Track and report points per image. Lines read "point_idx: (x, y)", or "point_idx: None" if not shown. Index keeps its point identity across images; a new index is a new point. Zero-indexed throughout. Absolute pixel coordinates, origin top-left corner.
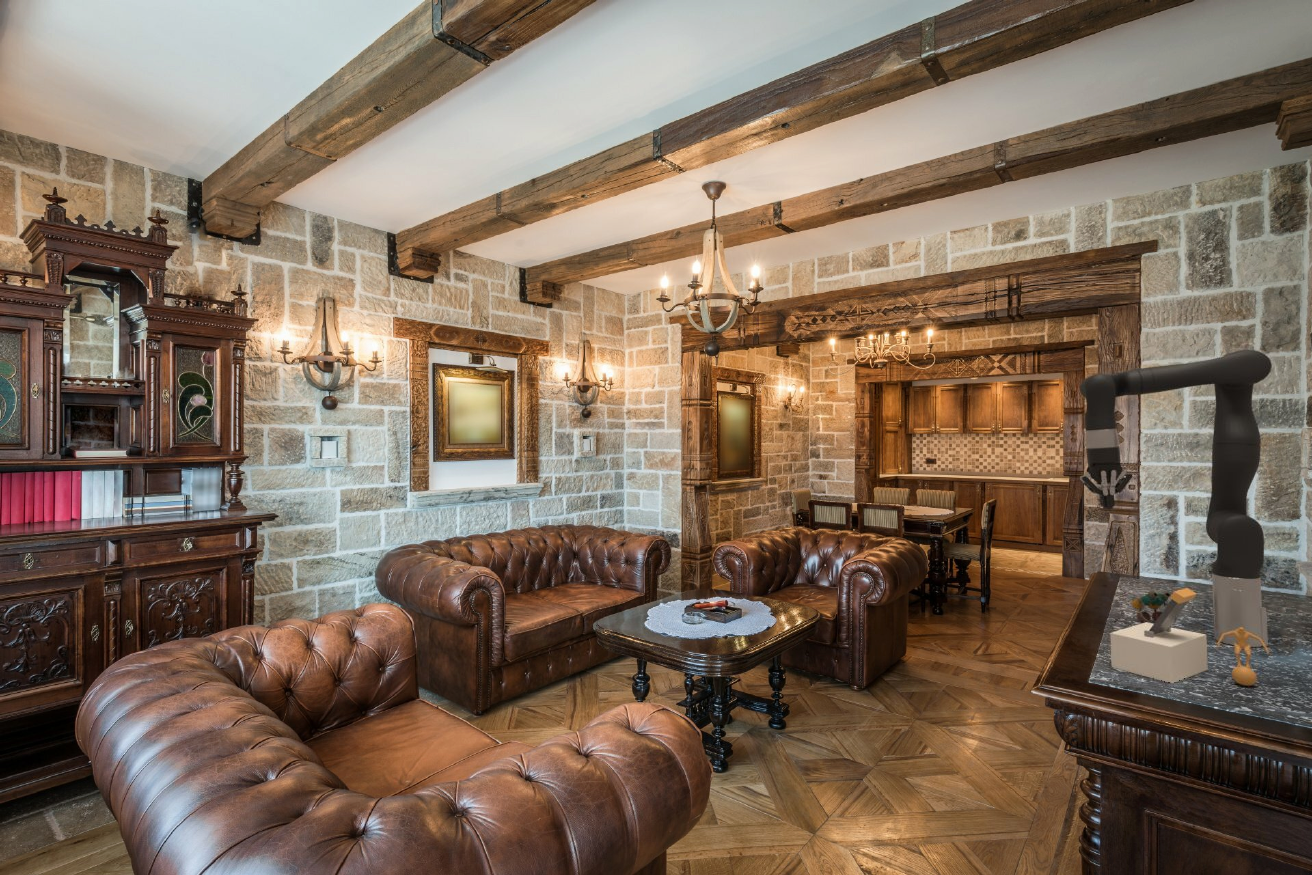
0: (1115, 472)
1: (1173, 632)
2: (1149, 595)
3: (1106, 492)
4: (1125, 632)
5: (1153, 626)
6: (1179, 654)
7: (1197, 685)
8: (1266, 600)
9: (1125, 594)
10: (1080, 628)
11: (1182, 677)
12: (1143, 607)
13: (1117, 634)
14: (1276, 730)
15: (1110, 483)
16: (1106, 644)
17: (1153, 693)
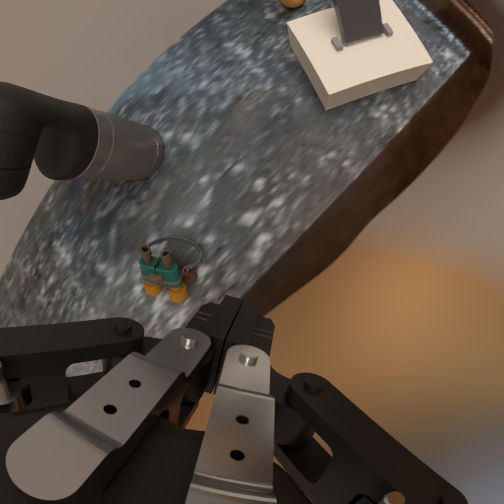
0: (24, 445)
1: (330, 38)
2: (167, 268)
3: (239, 358)
4: (408, 56)
5: (381, 23)
6: None
7: None
8: (8, 314)
9: None
10: (325, 260)
11: None
12: (187, 267)
13: (426, 53)
14: None
15: (170, 391)
16: (351, 168)
17: (419, 8)
